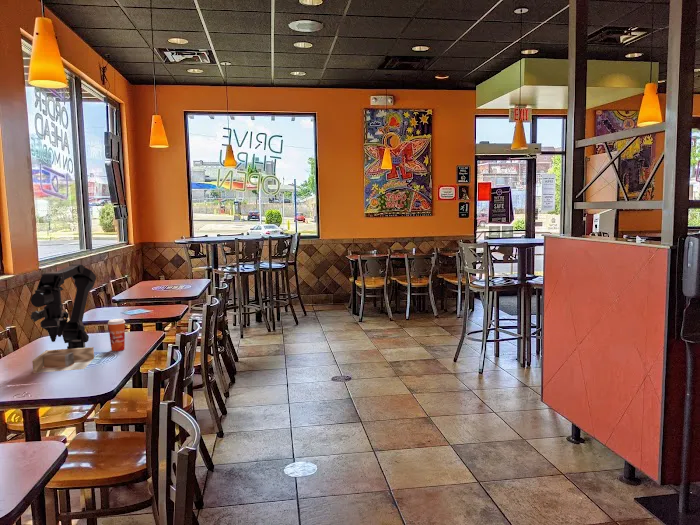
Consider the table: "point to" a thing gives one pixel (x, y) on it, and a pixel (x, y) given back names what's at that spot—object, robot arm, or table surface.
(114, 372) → the table surface
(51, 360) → the walnut block
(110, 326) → the paper cup
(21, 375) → the table surface
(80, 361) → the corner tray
